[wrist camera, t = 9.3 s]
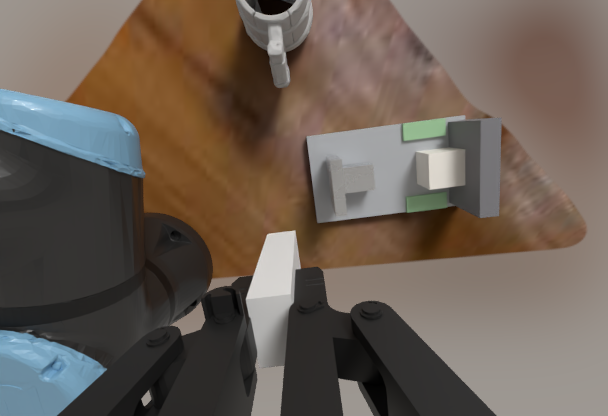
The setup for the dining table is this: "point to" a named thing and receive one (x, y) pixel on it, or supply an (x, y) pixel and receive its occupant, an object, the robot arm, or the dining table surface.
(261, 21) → the mug
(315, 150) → the bench
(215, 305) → the robot arm
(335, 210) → the plunger
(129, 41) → the dining table surface
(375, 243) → the dining table surface
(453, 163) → the block
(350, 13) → the dining table surface
